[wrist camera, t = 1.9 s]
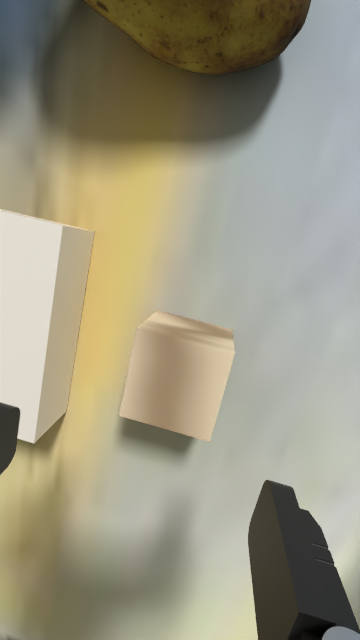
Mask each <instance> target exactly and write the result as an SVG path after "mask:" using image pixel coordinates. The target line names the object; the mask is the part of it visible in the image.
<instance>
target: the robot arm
mask: <svg viewBox="0 0 360 640" xmlns="http://www.w3.org/2000/svg"><path fill="white" fill-rule="evenodd" d="M19 421H20V409H19V408H18V407H15V406H12V405H8V404H5V403H1V402H0V474H1V473H2V472H3V471H4V470H5V469H6V468H7V467H8V466H9V464H10V462H11V461H12V459H13V457H14V454H15V451H16V445H17V437H18V429H19ZM248 546H249V556H250V565H251V575H252V584H253V594H254V604H255V613H256V623H257V633H258V640H360V630H359V627H358V625H357V622H356V619H355V617H354V614H353V611H352V609H351V606H350V603H349V601H348V598H347V595H346V593H345V590H344V587H343V585H342V582H341V579H340V577H339V574H338V572H337V569H336V567H334V561H333V558H332V556H331V553H330V551H329V550H328V545H327V542H326V540H325V537H324V534H323V532H322V529H321V527H320V526H319V525H318V523H317V522H316V521H315V519H314V518H313V517H312V515H311V514H310V513H309V511H307V510H303V509H300V508H299V505H298V502H297V499H296V496H295V492H294V490H293V488H292V487H290V486H287V485H283V484H280V483H276V482H273V481H269V480H266V481H265V482H264V484H263V487H262V489H261V492H260V495H259V498H258V501H257V504H256V507H255V509H254V512H253V515H252V518H251V521H250V526H249V533H248Z"/></svg>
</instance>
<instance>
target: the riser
mask: <svg viewBox="0 0 360 640" xmlns="http://www.w3.org/2000/svg"><path fill="white" fill-rule="evenodd" d="M94 232H95V231H91V230H87V229H83V228H79V227H74V226H70V225H66V224H62V223H58V222H53V221H49V220H45V219H41V218H36V217H32V216H28V215H24V214H20V213H15V212H11V211H7V210H3V209H0V402H1V403H5V404H8V405H12V406H15V407H18V408H19V409H20V421H19V429H18V437H17V438H18V439H21V440H24V441H27V442H31V443H35V442H36V441H37V440H38V439H39V438H40V437H41V436H42V435H43V434H44V433H45V432H46V431H47V430H48V429H49V428H50V427H51V426H52V425H53V424H54V423H55V422H56V421H57V420H58V419H59V418H60V417H61V416H62V415H63V414H64V413H65V412H66V411H67V405H68V399H69V392H70V386H71V379H72V373H73V367H74V360H75V354H76V347H77V341H78V335H79V328H80V322H81V315H82V309H83V302H84V296H85V290H86V283H87V277H88V270H89V264H90V258H91V251H92V245H93V238H94Z"/></svg>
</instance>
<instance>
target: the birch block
mask: <svg viewBox="0 0 360 640" xmlns="http://www.w3.org/2000/svg"><path fill="white" fill-rule="evenodd" d="M234 355H235V350H234V340H233V331H232V329H228V328H224V327H220V326H216V325H212V324H208V323H204V322H200V321H196V320H192V319H189V318H185V317H181V316H177V315H173V314H169V313H165V312H161V311H156V312H155V313H154V314H153V315H151V316H150V317H149V318H148V319H147V320H146V321H144V322H143V323H142V324H141V325H140V326H138V327H137V328H136V333H135V338H134V343H133V348H132V354H131V359H130V364H129V369H128V374H127V379H126V384H125V389H124V394H123V399H122V404H121V409H120V414H119V416H121V417H125V418H128V419H132V420H135V421H139V422H142V423H146V424H149V425H153V426H156V427H160V428H163V429H167V430H170V431H174V432H177V433H181V434H184V435H188V436H191V437H195V438H198V439H202V440H205V441H208V442H210V440H211V436H212V433H213V429H214V425H215V422H216V418H217V415H218V411H219V408H220V404H221V401H222V397H223V394H224V390H225V387H226V383H227V380H228V376H229V373H230V369H231V366H232V362H233V359H234Z"/></svg>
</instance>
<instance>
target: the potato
mask: <svg viewBox="0 0 360 640" xmlns="http://www.w3.org/2000/svg"><path fill="white" fill-rule="evenodd" d="M84 1H85V2H86V3H87V4H88V5H89V6H91V7H92V8H93V9H94V10H95V11H96V12H98V13H99V14H100V15H101V16H103V17H104V18H105V19H107V20H108V21H110V22H111V23H113V24H114V25H115V26H117V27H118V28H120V29H121V30H123V31H124V32H126V33H127V34H128V35H130V36H131V37H132V38H133V39H134V41H135V42H136V43H137V44H138V45H139V46H141V47H142V48H143V49H144V50H145V51H146V52H148V53H149V54H150V55H152V56H153V57H155V58H157V59H159V60H162V61H164V62H166V63H169V64H171V65H174V66H176V67H179V68H182V69H185V70H188V71H192V72H196V73H205V74H224V73H230V72H235V71H239V70H242V69H247V68H251V67H256V66H258V65H261V64H264V63H267V62H269V61H271V60H273V59H274V58H276V57H277V56H279V55H280V54H281V53H282V52H283V51H284V50H285V49H286V47H287V46H288V45H289V44H290V42H291V41H292V40H293V39H294V37H295V36H296V35H297V34H298V33H299V31H300V30H301V28H302V26H303V24H304V23H305V20H306V17H307V14H308V11H309V7H310V3H311V0H84Z"/></svg>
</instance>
